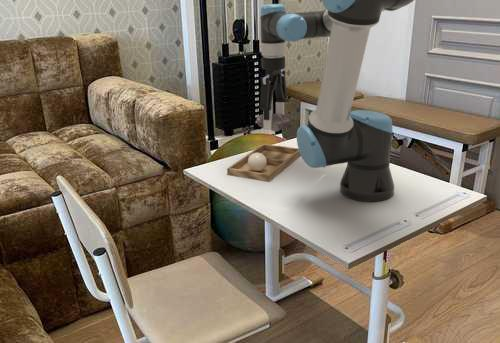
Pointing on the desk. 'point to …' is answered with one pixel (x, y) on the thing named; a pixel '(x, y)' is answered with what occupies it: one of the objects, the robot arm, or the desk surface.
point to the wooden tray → (275, 158)
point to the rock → (275, 122)
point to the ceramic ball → (257, 161)
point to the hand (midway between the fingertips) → (274, 125)
